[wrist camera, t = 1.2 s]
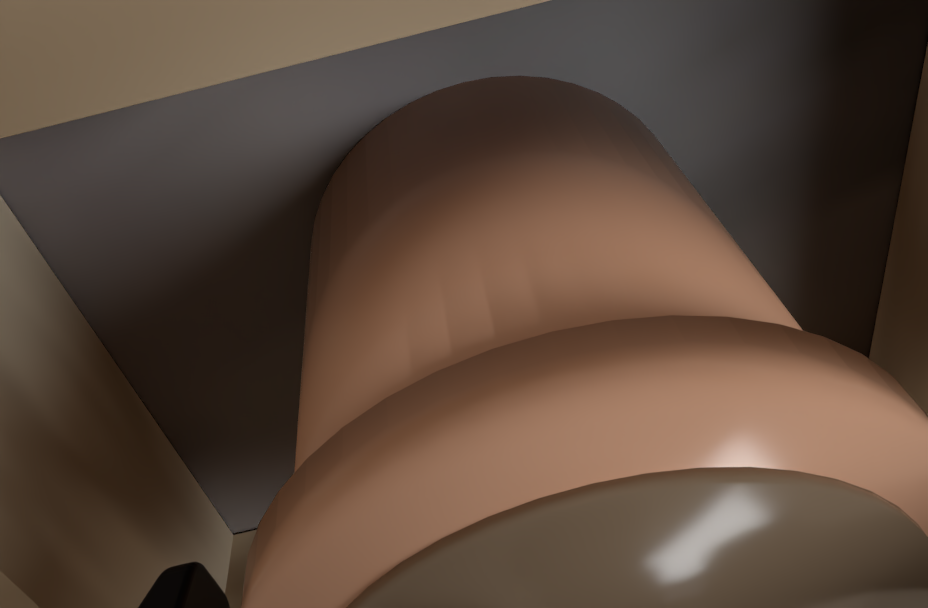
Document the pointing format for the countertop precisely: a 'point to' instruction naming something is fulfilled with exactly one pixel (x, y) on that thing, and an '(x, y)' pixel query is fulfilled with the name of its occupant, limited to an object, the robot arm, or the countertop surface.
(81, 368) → the cold frame
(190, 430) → the countertop surface
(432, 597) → the terracotta pot
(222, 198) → the countertop surface
